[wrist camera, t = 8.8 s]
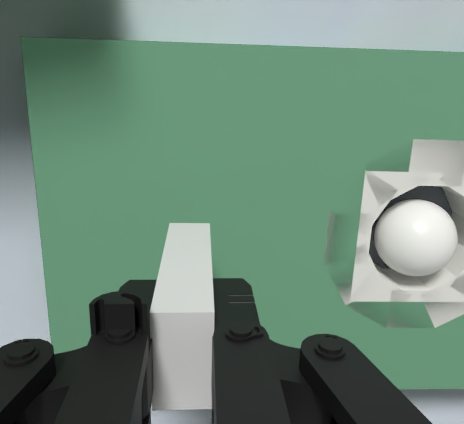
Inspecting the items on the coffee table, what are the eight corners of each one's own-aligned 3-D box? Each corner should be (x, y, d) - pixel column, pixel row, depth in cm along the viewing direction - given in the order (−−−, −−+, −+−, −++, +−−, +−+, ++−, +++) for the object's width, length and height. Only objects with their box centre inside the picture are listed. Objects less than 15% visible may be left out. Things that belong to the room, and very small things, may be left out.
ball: (357, 273, 21) (436, 298, 19) (365, 200, 20) (451, 216, 18) (386, 252, 24) (459, 272, 21) (395, 187, 22) (473, 200, 20)
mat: (71, 360, 24) (56, 391, 21) (44, 42, 19) (20, 36, 17) (503, 359, 25) (534, 388, 23) (573, 60, 20) (622, 57, 18)
